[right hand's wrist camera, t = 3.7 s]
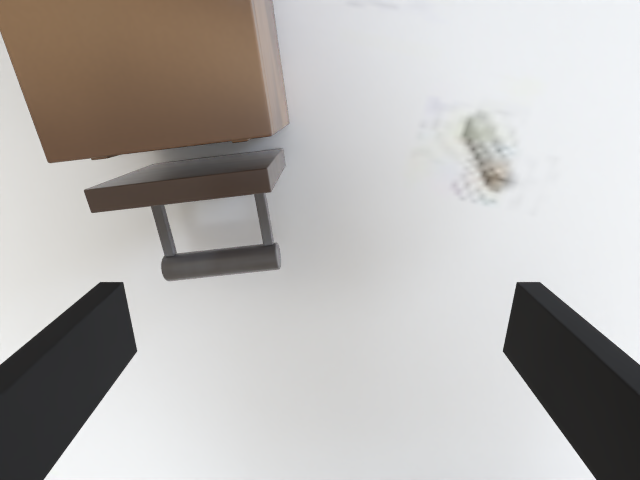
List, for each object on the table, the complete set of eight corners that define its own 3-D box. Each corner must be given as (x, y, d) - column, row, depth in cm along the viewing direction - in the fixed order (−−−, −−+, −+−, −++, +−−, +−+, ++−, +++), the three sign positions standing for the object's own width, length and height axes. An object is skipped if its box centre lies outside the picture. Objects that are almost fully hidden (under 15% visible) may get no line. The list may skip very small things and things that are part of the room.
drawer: (297, 245, 28) (289, 298, 21) (178, 258, 29) (125, 316, 21) (240, -139, 21) (192, -285, 13) (78, -114, 21) (-63, -241, 13)
